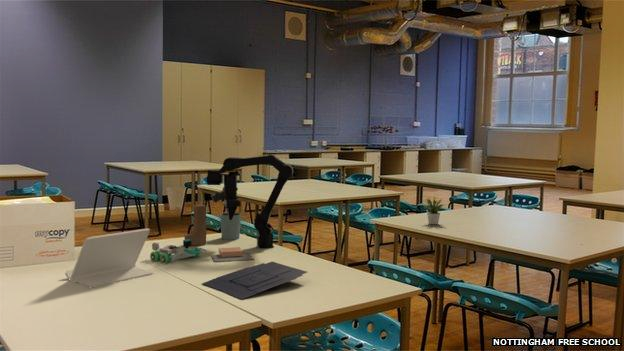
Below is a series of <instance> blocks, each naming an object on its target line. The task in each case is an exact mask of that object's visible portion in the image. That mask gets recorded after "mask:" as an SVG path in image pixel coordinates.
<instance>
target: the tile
mask: <svg viewBox="0 0 624 351" xmlns="http://www.w3.org/2000/svg"><path fill="white" fill-rule="evenodd" d="M243 253H244V250H243V249H242V248H241V247H240V246H235V247H218V255H219V254H220V256H221V257H236V256H243Z"/></svg>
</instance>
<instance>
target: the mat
mask: <svg viewBox="0 0 624 351" xmlns="http://www.w3.org/2000/svg"><path fill="white" fill-rule="evenodd" d="M210 256H211V258H212V260H213V262H214V263H223V262H240V261H241V262H243V261H254V260H255V258H253V256H252V255H251V254H250V253H249V252H243V256H236V257H221V256H220V254H219V253H218V254H211V255H210Z"/></svg>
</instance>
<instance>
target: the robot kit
mask: <svg viewBox="0 0 624 351" xmlns="http://www.w3.org/2000/svg"><path fill="white" fill-rule="evenodd" d="M182 243H183V244H182V245H181V246H180V245H179V246H178V245H173V244H170V245H166V246H164V247H160V245H159V244H160V242H153V243H152V244H151V249H152V251H151V252H150V256H149V257H150V260H151V262H152V263H153V262H154V263H156V262H159V261H160V263H162V264H163V265H168V264H170V263H171V261H172V262H174V261H177V260H181V259H186V258H189V257H192V258H197V257H199V256H200V254H201V253H203V254H206V253H207V250H206V249H205V248H201V247H199V246H193V247H192V246H191V239H186V240H185V239H183V240H182Z"/></svg>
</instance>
